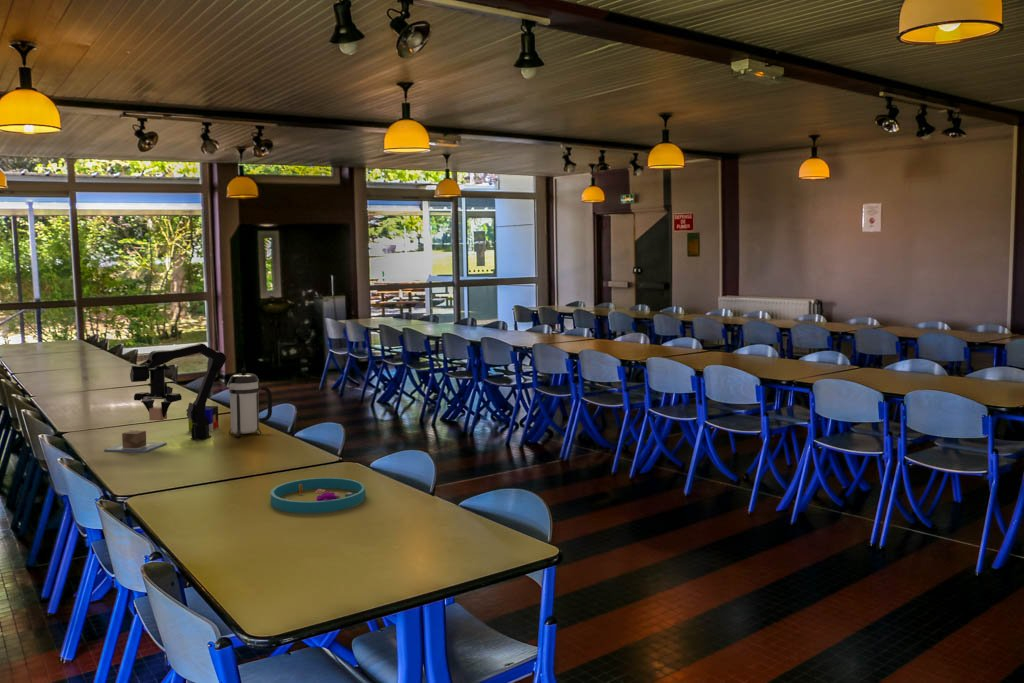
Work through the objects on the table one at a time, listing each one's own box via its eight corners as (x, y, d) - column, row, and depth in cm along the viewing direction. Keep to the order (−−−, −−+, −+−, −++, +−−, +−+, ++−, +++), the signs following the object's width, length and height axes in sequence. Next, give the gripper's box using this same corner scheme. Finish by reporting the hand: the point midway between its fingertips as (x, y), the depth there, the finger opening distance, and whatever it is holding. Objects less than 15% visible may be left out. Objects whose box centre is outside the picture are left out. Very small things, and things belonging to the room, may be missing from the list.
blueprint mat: (166, 444, 351) (166, 442, 351) (145, 452, 335) (145, 450, 335) (127, 443, 353) (126, 441, 353) (104, 451, 337) (104, 449, 337)
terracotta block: (166, 418, 355) (166, 407, 354) (160, 420, 350) (160, 408, 349) (156, 418, 355) (155, 406, 355) (149, 420, 350) (149, 408, 350)
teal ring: (291, 520, 248) (290, 501, 248) (257, 497, 273) (256, 480, 272) (381, 504, 266) (381, 486, 265) (342, 484, 290) (341, 467, 290)
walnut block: (146, 444, 346) (145, 430, 346) (137, 448, 340) (136, 433, 339) (131, 444, 347) (131, 430, 346) (122, 447, 340) (122, 433, 340)
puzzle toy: (210, 431, 380) (209, 409, 379) (188, 431, 380) (188, 409, 379) (218, 427, 390) (218, 406, 389) (197, 426, 390) (196, 405, 389)
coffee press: (254, 438, 364) (252, 370, 361) (221, 436, 367) (219, 369, 364) (273, 430, 381) (271, 366, 378) (241, 429, 384) (239, 365, 381)
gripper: (188, 378, 358) (188, 414, 359) (147, 377, 360) (148, 413, 362) (174, 382, 347) (174, 419, 348) (132, 380, 349) (133, 417, 351)
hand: (158, 417), depth 352 cm, fingers closed on terracotta block, 5 cm apart
